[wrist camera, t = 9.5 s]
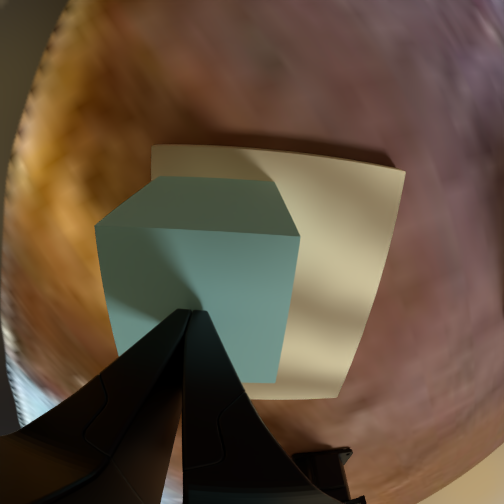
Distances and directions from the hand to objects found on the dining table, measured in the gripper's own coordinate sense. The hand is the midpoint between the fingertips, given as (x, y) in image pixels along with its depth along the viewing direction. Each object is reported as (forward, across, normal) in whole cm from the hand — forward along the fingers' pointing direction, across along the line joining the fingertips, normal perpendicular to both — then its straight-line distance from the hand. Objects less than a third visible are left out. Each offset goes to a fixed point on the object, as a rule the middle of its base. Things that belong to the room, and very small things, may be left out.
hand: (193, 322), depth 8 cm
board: (+8, -3, +4) cm, 9 cm away
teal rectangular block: (+7, 0, 0) cm, 7 cm away
